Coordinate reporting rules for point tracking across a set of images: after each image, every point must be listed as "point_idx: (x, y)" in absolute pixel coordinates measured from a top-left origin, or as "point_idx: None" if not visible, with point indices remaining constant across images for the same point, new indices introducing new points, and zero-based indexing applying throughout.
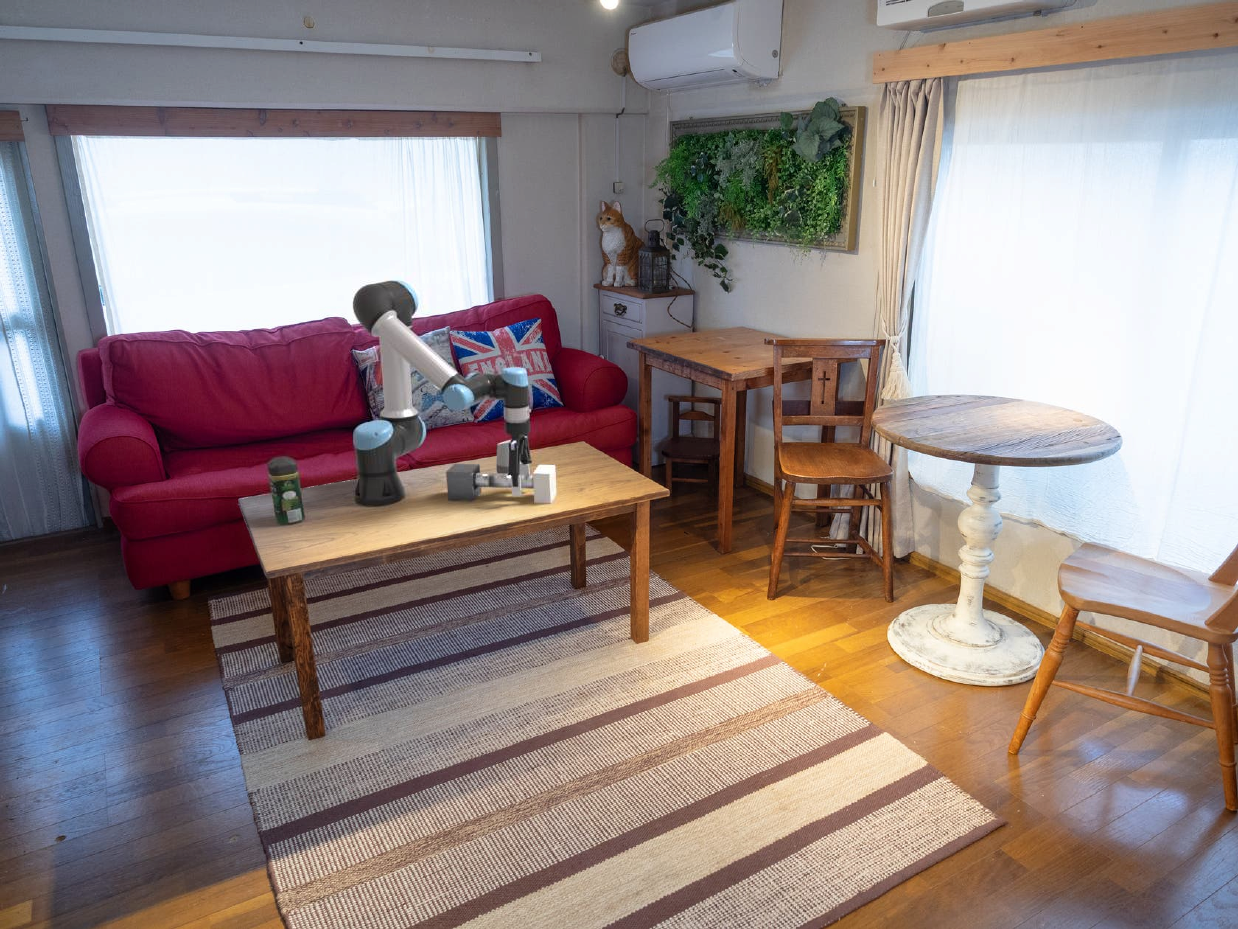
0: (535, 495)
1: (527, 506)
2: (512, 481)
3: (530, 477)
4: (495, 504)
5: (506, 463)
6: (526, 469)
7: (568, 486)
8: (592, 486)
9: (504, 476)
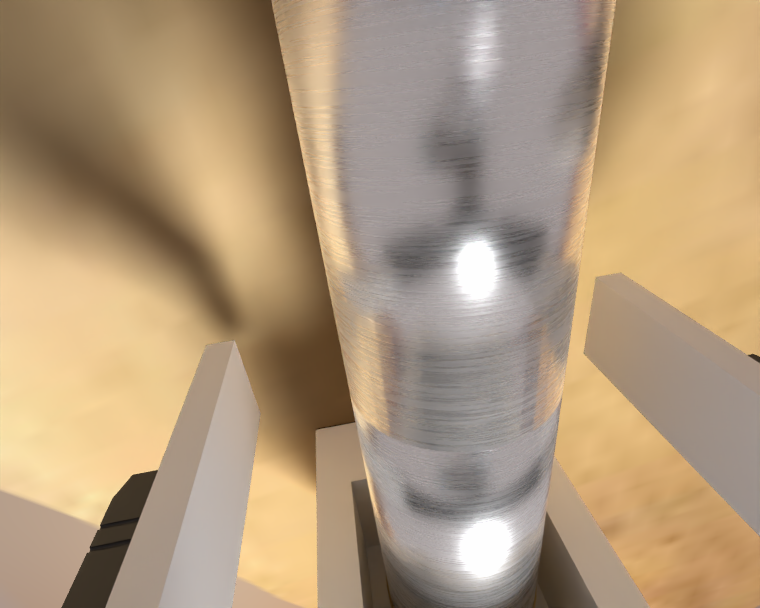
0: (319, 489)
1: None
2: (82, 568)
3: (422, 588)
4: (150, 124)
5: None
6: (725, 470)
7: (656, 469)
8: (639, 551)
9: (390, 283)
